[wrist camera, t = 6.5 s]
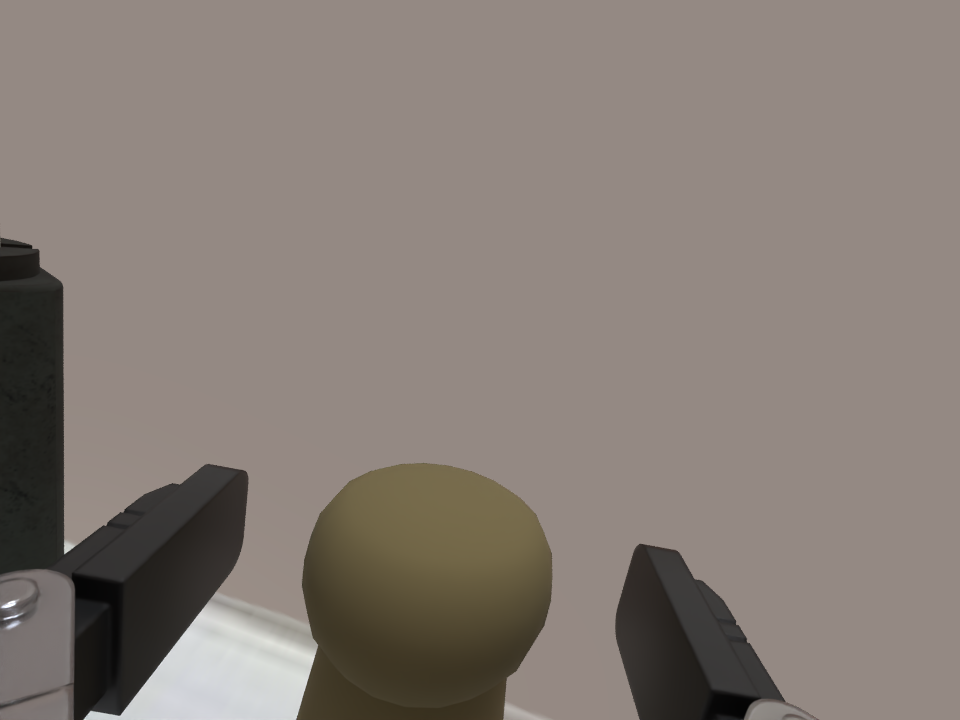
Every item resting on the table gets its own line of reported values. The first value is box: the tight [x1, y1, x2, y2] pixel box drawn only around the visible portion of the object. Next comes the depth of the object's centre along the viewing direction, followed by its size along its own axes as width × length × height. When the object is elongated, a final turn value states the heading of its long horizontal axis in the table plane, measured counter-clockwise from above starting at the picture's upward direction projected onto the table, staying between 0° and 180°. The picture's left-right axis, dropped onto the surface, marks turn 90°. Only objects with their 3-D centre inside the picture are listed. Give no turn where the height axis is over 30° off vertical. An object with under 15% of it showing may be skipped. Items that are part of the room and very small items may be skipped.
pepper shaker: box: [296, 463, 552, 720], centre depth 12 cm, size 6×6×11 cm
